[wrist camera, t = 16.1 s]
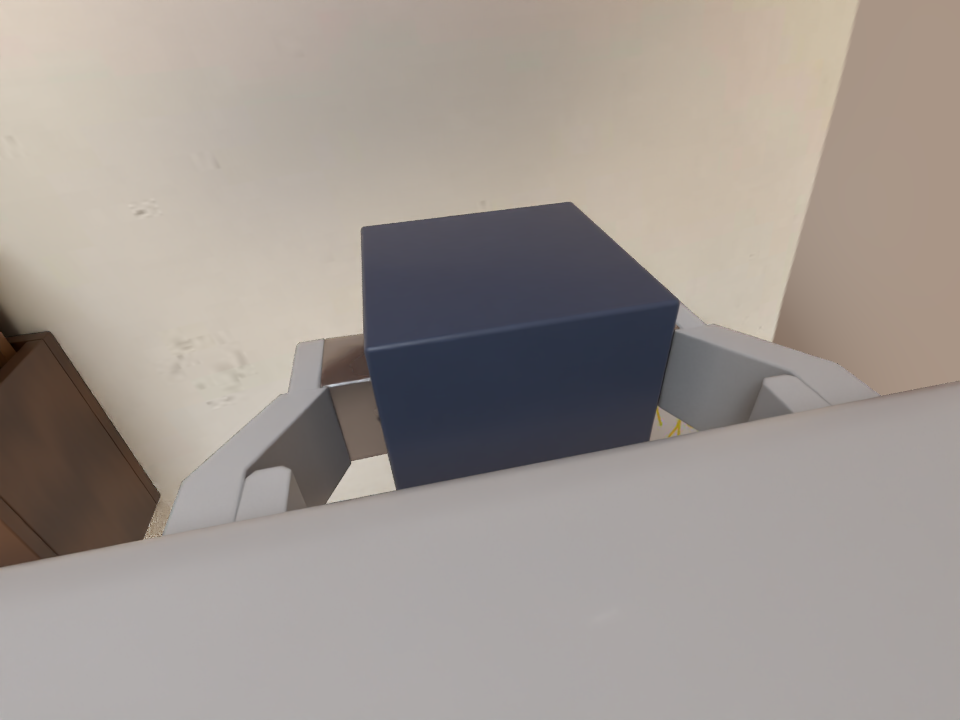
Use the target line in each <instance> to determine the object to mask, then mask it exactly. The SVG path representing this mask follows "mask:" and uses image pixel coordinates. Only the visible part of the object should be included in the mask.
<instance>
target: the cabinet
mask: <svg viewBox="0 0 960 720" xmlns="http://www.w3.org/2000/svg"><path fill="white" fill-rule="evenodd" d="M5 338H6V339H7V341H8V342H9V343H10V345H11V346H12V347H13V349H14V350H15V351H16V354H15V355H14V356H13V357H12V358H11V359H10V360H9V361H8V362H7V363H6V364H5V365H4V366H3V367H2V368H1V369H0V567H5V566H10V565H15V564H20V563H25V562H30V561H36V560H41V559H46V558H51V557H56V556H61V555H66V554H72V553H77V552H82V551H87V550H92V549H97V548H102V547H108V546H113V545H118V544H123V543H128V542H133V541H138V540H143V539H144V536H145V534H146V531H147V529H148V526H149V524H150V521H151V518H152V516H153V513H154V511H155V508H156V506H157V504H158V501H159V498H160V494H159V493H158V491H157V490H156V488H155V487H154V485H153V484H152V482H151V481H150V479H149V478H148V477H147V475H146V474H145V472H144V471H143V469H142V468H141V466H140V465H139V463H138V462H137V460H136V459H135V457H134V456H133V454H132V453H131V451H130V450H129V448H128V447H127V445H126V444H125V442H124V441H123V439H122V438H121V436H120V435H119V433H118V432H117V430H116V429H115V427H114V426H113V425H112V423H111V422H110V420H109V419H108V417H107V416H106V414H105V413H104V411H103V410H102V408H101V407H100V405H99V404H98V402H97V401H96V399H95V398H94V396H93V395H92V393H91V392H90V390H89V389H88V387H87V386H86V384H85V383H84V381H83V380H82V378H81V377H80V376H79V374H78V373H77V371H76V370H75V368H74V367H73V365H72V364H71V362H70V361H69V359H68V358H67V356H66V355H65V353H64V352H63V350H62V349H61V347H60V346H59V344H58V343H57V341H56V340H55V338H54V337H53V335H52V334H51V332H42V333H34V334H26V335H19V336H11V337H5Z"/></svg>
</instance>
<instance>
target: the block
mask: <svg viewBox="0 0 960 720" xmlns="http://www.w3.org/2000/svg"><path fill="white" fill-rule="evenodd" d="M361 258H362V296H363V335H364V354H365V358H366V362H367V367H368V371H369V375H370V380H371V384H372V388H373V392H374V397H375V401H376V405H377V410H378V414H379V418H380V423H381V427H382V431H383V435H384V440H385V444H386V448H387V453H388V457H389V461H390V465H391V470H392V474H393V478H394V483H395V487H396V490H401V489H406V488H411V487H416V486H421V485H426V484H432V483H437V482H442V481H447V480H452V479H457V478H462V477H468V476H473V475H478V474H483V473H488V472H493V471H499V470H504V469H509V468H514V467H519V466H524V465H529V464H535V463H540V462H545V461H550V460H555V459H560V458H565V457H571V456H576V455H581V454H586V453H591V452H596V451H601V450H607V449H612V448H617V447H622V446H627V445H632V444H637V443H642V442H647V441H650V436H651V432H652V427H653V423H654V418H655V414H656V409H657V405H658V400H659V396H660V391H661V387H662V382H663V378H664V373H665V369H666V365H667V360H668V356H669V351H670V347H671V342H672V338H673V333H674V329H675V324H676V320H677V315H678V311H679V306H680V302H679V299H678V298H676V297H675V296H674V295H673V294H672V293H671V292H670V291H669V290H668V289H667V288H665V287H664V286H663V285H662V284H661V283H660V282H659V281H658V280H657V279H656V278H654V277H653V276H652V275H651V274H650V273H649V272H648V271H647V270H646V269H645V268H643V267H642V266H641V265H640V264H639V263H638V262H637V261H636V260H635V259H634V258H632V257H631V256H630V255H629V254H628V253H627V252H626V251H625V250H624V249H623V248H621V247H620V246H619V245H618V244H617V243H616V242H615V241H614V240H613V239H612V238H610V237H609V236H608V235H607V234H606V233H605V232H604V231H603V230H602V229H601V228H599V227H598V226H597V225H596V224H595V223H594V222H593V221H592V220H591V219H590V218H588V217H587V216H586V215H585V214H584V213H583V212H582V211H581V210H580V209H579V208H577V207H576V206H575V205H574V204H573V203H572V202H564V203H556V204H547V205H539V206H531V207H523V208H514V209H506V210H498V211H490V212H481V213H473V214H465V215H457V216H448V217H440V218H432V219H424V220H415V221H407V222H399V223H390V224H382V225H374V226H366V227H363V228H361Z"/></svg>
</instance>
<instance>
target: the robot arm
mask: <svg viewBox="0 0 960 720" xmlns="http://www.w3.org/2000/svg"><path fill="white" fill-rule="evenodd" d="M679 302H680V301H679ZM658 407H660V408H661V409H663V410H665V411H666V412H668V413H670V414H671V415H673V416H675V417H676V418H678V419H680V420H681V421H683V422H685V423H686V424H688V425H690V426H691V427H693V428H695V429H696V430H698V431H699V432H694V433H688V434H683V435H678V436H673V437H668V438H663V439H658V440H652V441H647V442H642V443H637V444H632V445H627V446H622V447H617V448H612V449H607V450H601V451H596V452H591V453H586V454H581V455H576V456H571V457H565V458H560V459H555V460H550V461H545V462H540V463H535V464H529V465H524V466H519V467H514V468H509V469H504V470H499V471H493V472H488V473H483V474H478V475H473V476H468V477H462V478H457V479H452V480H447V481H442V482H437V483H432V484H426V485H421V486H416V487H411V488H406V489H401V490H396V491H390V492H385V493H380V494H375V495H370V496H365V497H360V498H354V499H349V500H344V501H339V502H334V503H329V504H326V502H327V501H328V499H329V498H330V496H331V494H332V493H333V491H334V490H335V488H336V487H337V485H338V483H339V482H340V480H341V479H342V477H343V476H344V474H345V472H346V471H347V469H348V468H349V466H350V465H351V461H354V460H359V459H363V458H368V457H373V456H378V455H382V454H387V448H386V444H385V440H384V435H383V431H382V427H381V423H380V418H379V414H378V410H377V405H376V401H375V397H374V392H373V388H372V384H371V380H370V375H369V371H368V367H367V362H366V358H365V354H364V335H363V334H357V335H349V336H341V337H334V338H326V339H318V340H311V341H305V342H300V343H298V344H297V346H296V349H295V355H294V361H293V366H292V372H291V378H290V383H289V389H288V393H286V394H280V395H279V396H278V397H277V398H276V399H274V400H273V401H272V402H271V403H270V404H269V405H268V406H267V407H265V408H264V409H263V410H262V411H261V412H260V413H259V414H258V415H256V416H255V417H254V418H253V419H252V420H251V421H250V422H249V423H247V424H246V425H245V426H244V427H243V428H242V429H241V430H240V431H238V432H237V433H236V434H235V435H234V436H233V437H232V438H230V439H229V440H228V441H227V442H226V443H225V444H224V445H223V446H221V447H220V448H219V449H218V450H217V451H216V452H215V453H214V454H212V455H211V456H210V457H209V458H208V459H207V460H206V461H205V462H203V463H202V464H201V465H200V466H199V467H198V468H197V469H196V470H194V471H193V472H192V473H191V474H190V475H189V476H188V477H187V478H185V479H184V480H183V481H182V483H181V485H180V488H179V491H178V493H177V496H176V499H175V501H174V504H173V507H172V510H171V512H170V515H169V518H168V520H167V523H166V526H165V529H164V531H163V534H162V536H159V537H154V538H149V539H144V540H138V541H133V542H128V543H123V544H118V545H113V546H108V547H102V548H97V549H92V550H87V551H82V552H77V553H72V554H66V555H61V556H56V557H51V558H46V559H41V560H36V561H30V562H25V563H20V564H15V565H10V566H5V567H0V720H960V381H956V382H950V383H945V384H940V385H935V386H930V387H925V388H920V389H914V390H909V391H904V392H899V393H894V394H889V395H884V396H881V395H879V394H878V393H877V392H875V391H874V390H873V389H871V388H870V387H869V386H867V385H866V384H865V383H863V382H862V381H861V380H859V379H858V378H857V377H855V376H854V375H853V374H851V373H850V372H849V371H847V370H846V369H844V368H843V367H842V366H840V365H839V364H838V363H835V362H832V361H829V360H825V359H822V358H819V357H816V356H813V355H810V354H806V353H804V352H800V351H797V350H794V349H791V348H788V347H785V346H782V345H778V344H775V343H772V342H769V341H766V340H763V339H760V338H756V337H753V336H750V335H747V334H744V333H741V332H738V331H734V330H731V329H728V328H725V327H722V326H719V325H716V324H709V325H706V324H705V323H704V322H703V321H702V320H700V319H699V318H698V317H697V316H696V315H695V314H694V313H693V312H692V311H690V310H689V309H688V308H687V307H686V306H685V305H684V304H683V303H682V302H680V306H679V311H678V315H677V320H676V324H675V329H674V333H673V338H672V342H671V347H670V351H669V356H668V360H667V365H666V369H665V373H664V378H663V382H662V387H661V391H660V396H659V400H658Z"/></svg>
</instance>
